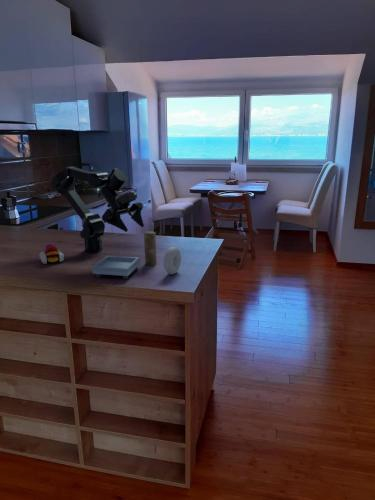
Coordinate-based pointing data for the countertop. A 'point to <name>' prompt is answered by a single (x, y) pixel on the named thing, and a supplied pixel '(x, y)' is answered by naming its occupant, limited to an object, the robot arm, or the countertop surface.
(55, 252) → the red yellow rounded shape
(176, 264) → the donut
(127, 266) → the tray
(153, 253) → the walnut spindle
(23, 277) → the countertop surface
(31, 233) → the countertop surface
